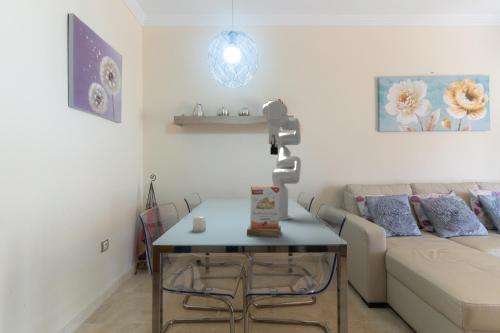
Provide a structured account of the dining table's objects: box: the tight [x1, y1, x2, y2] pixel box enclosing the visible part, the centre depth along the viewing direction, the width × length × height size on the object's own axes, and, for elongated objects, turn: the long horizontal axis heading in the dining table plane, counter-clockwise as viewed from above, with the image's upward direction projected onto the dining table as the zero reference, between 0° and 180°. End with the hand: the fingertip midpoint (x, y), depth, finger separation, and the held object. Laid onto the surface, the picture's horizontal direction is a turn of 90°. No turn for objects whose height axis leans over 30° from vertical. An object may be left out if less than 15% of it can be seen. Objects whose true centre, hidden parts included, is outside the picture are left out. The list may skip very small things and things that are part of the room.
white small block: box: [192, 215, 207, 232], centre depth 160 cm, size 7×7×7 cm
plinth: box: [246, 225, 282, 238], centre depth 153 cm, size 11×16×3 cm
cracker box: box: [249, 185, 280, 228], centre depth 153 cm, size 14×6×21 cm, turn 96°
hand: (274, 154), depth 168 cm, fingers open, 9 cm apart
